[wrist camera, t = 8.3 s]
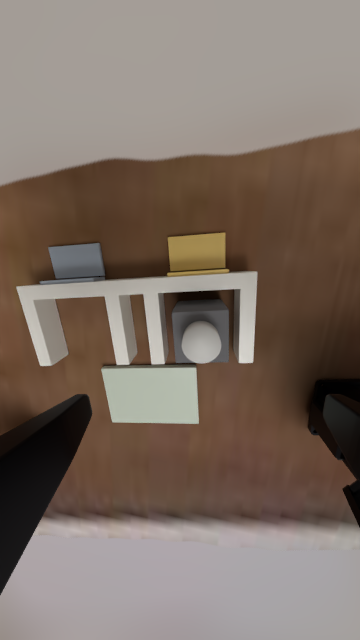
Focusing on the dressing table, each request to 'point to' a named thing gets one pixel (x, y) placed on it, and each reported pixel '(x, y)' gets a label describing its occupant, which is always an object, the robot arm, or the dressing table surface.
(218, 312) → the plug
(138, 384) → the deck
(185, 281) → the socket board
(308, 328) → the dressing table surface
